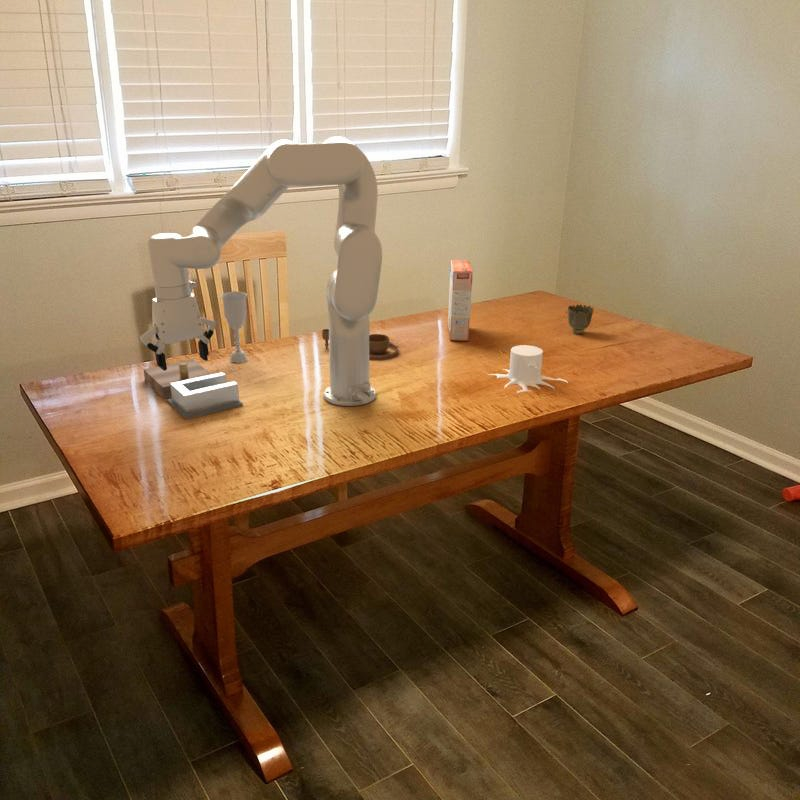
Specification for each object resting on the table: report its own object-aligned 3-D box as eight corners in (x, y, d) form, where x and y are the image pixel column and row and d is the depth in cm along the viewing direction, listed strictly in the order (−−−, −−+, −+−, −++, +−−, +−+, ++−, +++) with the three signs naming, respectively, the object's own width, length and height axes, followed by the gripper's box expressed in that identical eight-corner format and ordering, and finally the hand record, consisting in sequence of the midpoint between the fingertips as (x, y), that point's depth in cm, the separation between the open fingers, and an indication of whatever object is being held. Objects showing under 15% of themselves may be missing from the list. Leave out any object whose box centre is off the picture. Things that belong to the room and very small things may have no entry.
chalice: (245, 365, 212) (241, 299, 205) (221, 363, 213) (216, 298, 206) (255, 356, 218) (251, 292, 211) (232, 354, 220) (227, 290, 212)
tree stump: (500, 396, 195) (502, 366, 192) (478, 368, 213) (480, 340, 210) (577, 392, 199) (580, 361, 196) (549, 364, 216) (552, 336, 213)
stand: (215, 387, 198) (213, 362, 195) (164, 398, 191) (161, 373, 188) (194, 370, 208) (191, 346, 205) (144, 380, 201) (141, 356, 199)
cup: (565, 328, 244) (567, 303, 241) (589, 329, 243) (592, 304, 240) (566, 336, 237) (568, 310, 234) (591, 337, 236) (594, 311, 233)
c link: (223, 389, 195) (222, 372, 193) (239, 401, 188) (237, 383, 186) (172, 400, 188) (170, 383, 186) (186, 413, 181) (184, 395, 180)
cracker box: (469, 341, 232) (473, 271, 223) (449, 341, 232) (452, 270, 223) (466, 326, 245) (470, 259, 236) (447, 326, 245) (449, 259, 236)
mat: (242, 405, 188) (242, 403, 187) (185, 419, 180) (185, 416, 180) (222, 389, 197) (222, 386, 196) (167, 401, 189) (166, 399, 189)
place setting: (370, 368, 213) (370, 347, 211) (318, 350, 225) (317, 330, 222) (412, 351, 225) (413, 331, 223) (360, 336, 237) (360, 317, 235)
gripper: (204, 280, 182) (213, 351, 189) (128, 294, 173) (141, 367, 180) (217, 287, 176) (225, 359, 183) (139, 302, 167) (152, 377, 174)
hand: (183, 363), depth 182 cm, fingers open, 9 cm apart
